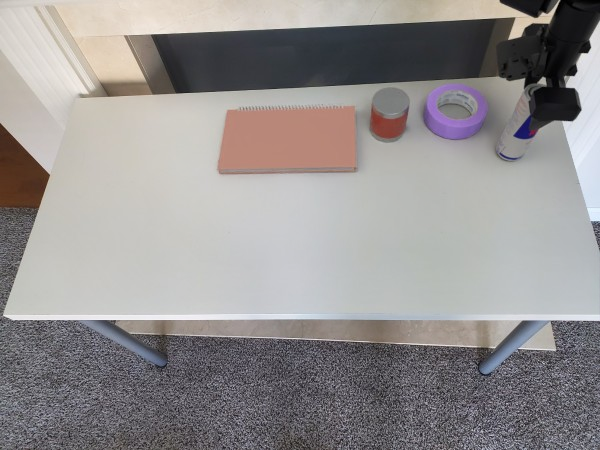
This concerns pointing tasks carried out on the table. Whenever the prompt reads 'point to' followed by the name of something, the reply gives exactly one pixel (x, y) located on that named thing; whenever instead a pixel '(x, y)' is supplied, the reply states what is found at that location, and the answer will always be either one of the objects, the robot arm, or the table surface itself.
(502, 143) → the beverage can
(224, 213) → the table surface
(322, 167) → the notebook
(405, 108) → the food tin
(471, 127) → the tape roll
